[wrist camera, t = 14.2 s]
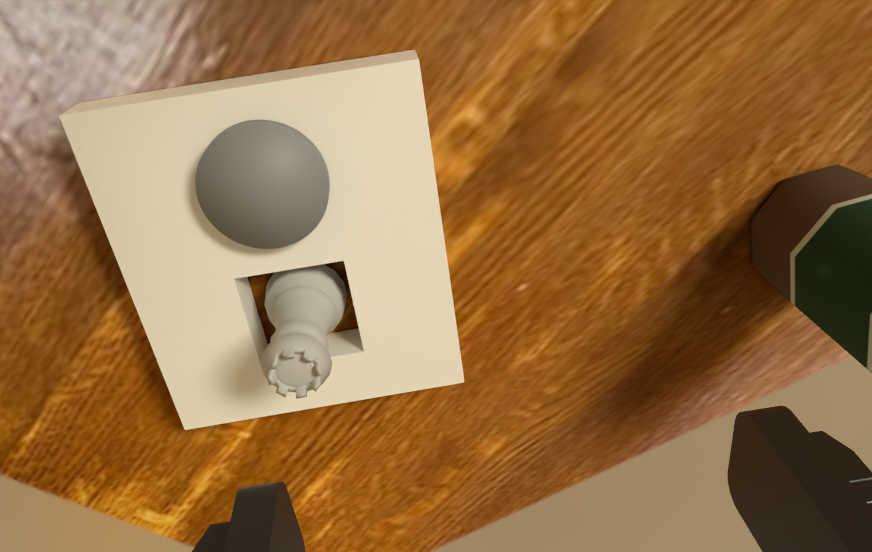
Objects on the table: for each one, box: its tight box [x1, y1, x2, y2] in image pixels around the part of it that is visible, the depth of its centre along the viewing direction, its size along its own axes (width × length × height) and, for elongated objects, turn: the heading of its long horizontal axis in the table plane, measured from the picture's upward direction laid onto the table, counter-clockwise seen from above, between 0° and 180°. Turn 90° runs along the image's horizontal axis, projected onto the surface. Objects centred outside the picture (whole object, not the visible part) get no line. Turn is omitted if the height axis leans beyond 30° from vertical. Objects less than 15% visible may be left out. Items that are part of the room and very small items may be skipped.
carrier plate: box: [59, 50, 464, 430], centre depth 35 cm, size 18×16×4 cm
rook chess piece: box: [261, 264, 347, 399], centre depth 34 cm, size 4×4×8 cm
